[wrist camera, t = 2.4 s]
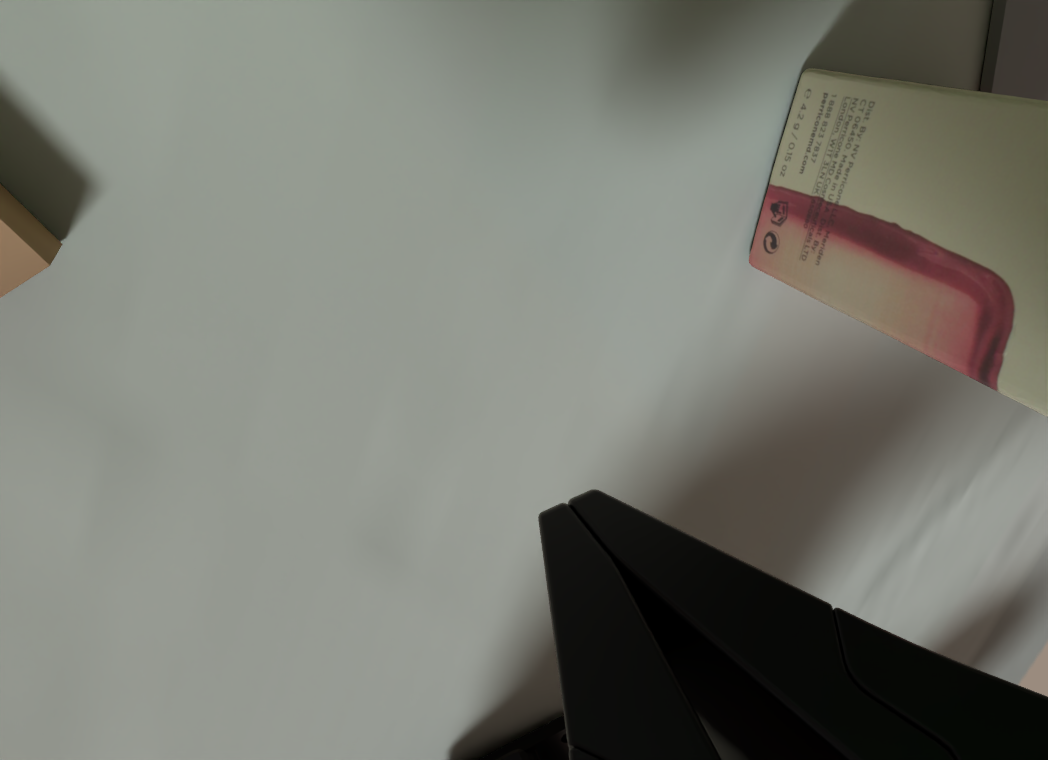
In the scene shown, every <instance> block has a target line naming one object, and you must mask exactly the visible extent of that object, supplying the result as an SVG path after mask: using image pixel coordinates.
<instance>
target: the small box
mask: <svg viewBox="0 0 1048 760" xmlns="http://www.w3.org/2000/svg"><path fill="white" fill-rule="evenodd" d="M749 263H750V264H751V266H753V267H755V268H756V269H758V270H760V271H762V272H764V273H766V274H768V275H770V276H772V277H774V278H776V279H778V280H780V281H782V282H784V283H785V284H787V285H789V286H791V287H793V288H795V289H797V290H799V291H801V292H803V293H805V294H807V295H809V296H811V297H813V298H815V299H817V300H819V301H821V302H823V303H824V304H826V305H829V306H831V307H833V308H835V309H837V310H839V311H841V312H843V313H845V314H847V315H849V316H851V317H853V318H855V319H857V320H859V321H861V322H863V323H865V324H867V325H869V326H871V327H873V328H875V329H877V330H879V331H881V332H883V333H885V334H887V335H888V336H890V337H892V338H894V339H896V340H898V341H900V342H902V343H904V344H906V345H908V346H910V347H912V348H914V349H916V350H918V351H920V352H922V353H924V354H926V355H928V356H929V357H931V358H933V359H935V360H937V361H939V362H941V363H943V364H945V365H947V366H949V367H951V368H953V369H955V370H957V371H959V372H961V373H963V374H965V375H967V376H969V377H971V378H973V379H975V380H976V381H978V382H980V383H982V384H984V385H986V386H988V387H990V388H992V389H994V390H996V391H998V392H999V393H1001V394H1003V395H1005V396H1007V397H1009V398H1011V399H1013V400H1015V401H1017V402H1019V403H1021V404H1023V405H1025V406H1027V407H1029V408H1031V409H1033V410H1035V411H1037V412H1039V413H1041V414H1043V415H1044V416H1046V417H1048V101H1043V100H1036V99H1029V98H1022V97H1016V96H1008V95H1000V94H993V93H987V92H980V91H972V90H965V89H957V88H950V87H942V86H935V85H928V84H921V83H914V82H907V81H900V80H893V79H885V78H877V77H869V76H862V75H855V74H849V73H842V72H835V71H828V70H823V69H814V68H810V69H807V70H805V71H804V72H803V73H802V75H801V78H800V81H799V85H798V88H797V91H796V95H795V98H794V100H793V104H792V107H791V111H790V114H789V117H788V121H787V124H786V127H785V130H784V133H783V137H782V140H781V143H780V146H779V150H778V154H777V157H776V161H775V164H774V168H773V171H772V174H771V179H770V183H769V186H768V190H767V194H766V197H765V200H764V204H763V208H762V211H761V215H760V219H759V223H758V226H757V229H756V233H755V237H754V241H753V245H752V249H751V252H750V256H749Z"/></svg>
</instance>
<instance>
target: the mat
mask: <svg viewBox="0 0 1048 760" xmlns="http://www.w3.org/2000/svg"><path fill="white" fill-rule="evenodd" d="M980 92H987V93H993V94H1000V95H1008V96H1016V97H1022V98H1029V99H1036V100H1043V101H1048V0H994V3H993V9H992V16H991V22H990V28H989V35H988V41H987V48H986V54H985V61H984V67H983V74H982V80H981V87H980Z"/></svg>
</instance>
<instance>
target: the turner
mask: <svg viewBox="0 0 1048 760" xmlns="http://www.w3.org/2000/svg"><path fill="white" fill-rule="evenodd" d="M61 246H62V243H61V242H60V241H59V240H58V239H57V238H55V237H54V236H53V235H52V234H51V233H50V232H49V231H48V230H47V229H46V228H45V227H44V226H43V225H42V224H41V223H40V222H39V221H38V220H37V219H36V218H35V217H34V216H33V215H32V214H31V213H30V212H29V211H28V210H27V209H26V208H25V207H24V206H23V205H22V204H21V203H20V202H19V201H17V200H16V199H15V198H14V197H13V196H12V195H11V194H10V193H9V192H8V191H7V190H6V189H5V188H4V187H3V186H2V185H1V184H0V298H1V297H2V296H4V295H5V294H7V293H8V292H10V291H11V290H13V289H14V288H16V287H18V286H19V285H21V284H22V283H24V282H25V281H27V280H28V279H30V278H31V277H33V276H34V275H36V274H38V273H39V272H41V271H42V270H44V269H45V268H47V267H48V266H50V264H51V263H52V261H53V259H54V258H55V256H56V254H57V252H58V251H59V249H60V247H61Z"/></svg>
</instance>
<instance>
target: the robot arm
mask: <svg viewBox="0 0 1048 760" xmlns="http://www.w3.org/2000/svg"><path fill="white" fill-rule="evenodd" d="M538 518H539V527H540V535H541V543H542V550H543V558H544V566H545V573H546V581H547V589H548V596H549V604H550V611H551V619H552V627H553V634H554V642H555V650H556V657H557V665H558V673H559V680H560V688H561V696H562V703H563V711H564V716H562V717H560V718H558V719H556V720H554V721H552V722H550V723H548V724H546V725H544V726H542V727H540V728H539V729H537V730H535V731H533V732H531V733H529V734H527V735H525V736H523V737H521V738H519V739H517V740H515V741H514V742H512V743H510V744H508V745H506V746H504V747H502V748H500V749H498V750H496V751H494V752H492V753H490V754H488V755H487V756H485V757H483V758H481V759H479V760H1048V697H1047V696H1044V695H1042V694H1039V693H1037V692H1034V691H1032V690H1029V689H1026V688H1024V687H1021V686H1019V685H1016V684H1013V683H1011V682H1008V681H1006V680H1003V679H1000V678H998V677H995V676H993V675H990V674H988V673H985V672H982V671H980V670H977V669H975V668H972V667H970V666H967V665H965V664H962V663H960V662H957V661H955V660H952V659H950V658H948V657H945V656H943V655H940V654H938V653H935V652H933V651H931V650H928V649H926V648H923V647H921V646H918V645H916V644H914V643H912V642H909V641H907V640H905V639H903V638H901V637H899V636H896V635H894V634H892V633H890V632H888V631H886V630H883V629H881V628H879V627H877V626H875V625H873V624H871V623H868V622H866V621H864V620H862V619H860V618H858V617H856V616H854V615H852V614H850V613H848V612H846V611H844V610H842V609H840V608H835V609H834V610H833V608H832V606H831V604H829V603H827V602H825V601H823V600H821V599H819V598H817V597H815V596H813V595H811V594H809V593H807V592H805V591H803V590H801V589H799V588H797V587H795V586H793V585H790V584H788V583H786V582H784V581H782V580H780V579H778V578H776V577H774V576H772V575H770V574H768V573H766V572H764V571H762V570H760V569H758V568H756V567H754V566H752V565H750V564H748V563H746V562H744V561H742V560H740V559H738V558H736V557H733V556H731V555H729V554H727V553H725V552H723V551H721V550H719V549H717V548H715V547H713V546H711V545H709V544H707V543H705V542H703V541H701V540H699V539H697V538H695V537H693V536H691V535H689V534H687V533H685V532H683V531H681V530H679V529H676V528H674V527H672V526H670V525H668V524H666V523H664V522H662V521H660V520H658V519H656V518H654V517H652V516H650V515H648V514H646V513H644V512H642V511H640V510H638V509H636V508H634V507H632V506H630V505H628V504H626V503H624V502H622V501H619V500H617V499H615V498H613V497H611V496H609V495H607V494H605V493H603V492H601V491H599V490H590V491H587V492H585V493H583V494H581V495H579V496H576V497H574V498H572V499H570V500H569V502H568V504H566V503H561V504H559V505H556V506H554V507H552V508H550V509H548V510H545V511H543V512H541V513H540V514H539V517H538Z"/></svg>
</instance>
